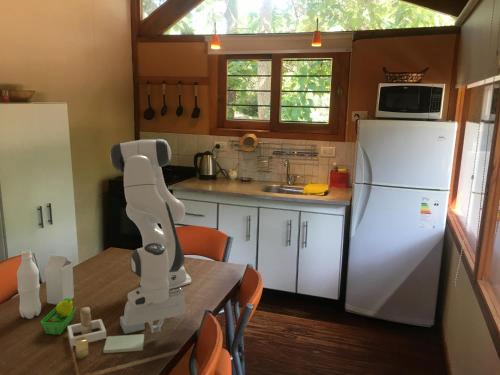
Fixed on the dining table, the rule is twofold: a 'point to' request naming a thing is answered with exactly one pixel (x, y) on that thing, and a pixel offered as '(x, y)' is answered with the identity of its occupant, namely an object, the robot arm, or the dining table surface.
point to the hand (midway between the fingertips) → (155, 331)
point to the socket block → (130, 328)
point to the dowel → (85, 320)
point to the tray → (89, 336)
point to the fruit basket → (59, 317)
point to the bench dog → (81, 347)
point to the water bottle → (28, 286)
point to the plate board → (124, 343)
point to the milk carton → (59, 279)
